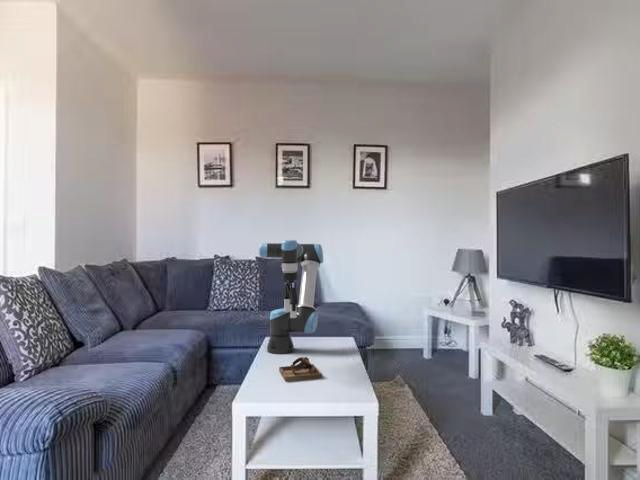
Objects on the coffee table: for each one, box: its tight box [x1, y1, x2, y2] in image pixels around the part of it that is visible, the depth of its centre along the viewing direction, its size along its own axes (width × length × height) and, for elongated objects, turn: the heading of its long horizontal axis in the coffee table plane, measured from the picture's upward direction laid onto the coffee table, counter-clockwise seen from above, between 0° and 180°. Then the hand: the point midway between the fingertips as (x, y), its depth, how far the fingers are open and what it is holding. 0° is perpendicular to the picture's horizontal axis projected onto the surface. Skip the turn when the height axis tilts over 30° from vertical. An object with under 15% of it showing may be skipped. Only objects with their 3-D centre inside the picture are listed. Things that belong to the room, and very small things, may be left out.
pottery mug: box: [290, 356, 313, 374], centre depth 193 cm, size 12×10×8 cm
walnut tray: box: [278, 363, 323, 383], centre depth 192 cm, size 16×17×2 cm
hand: (290, 314), depth 204 cm, fingers open, 13 cm apart
